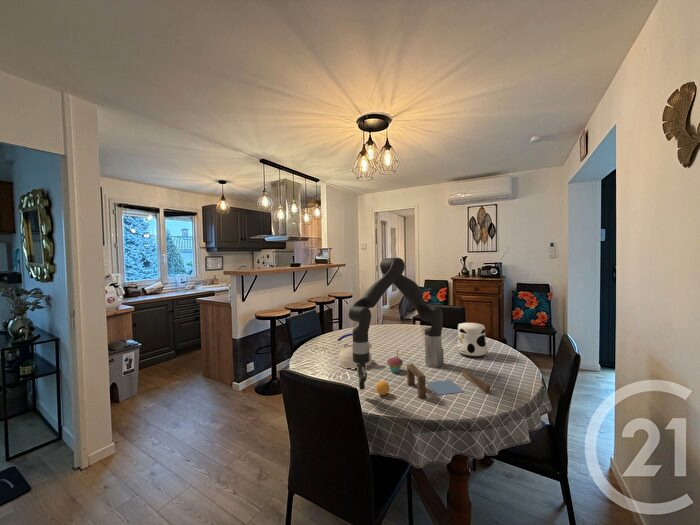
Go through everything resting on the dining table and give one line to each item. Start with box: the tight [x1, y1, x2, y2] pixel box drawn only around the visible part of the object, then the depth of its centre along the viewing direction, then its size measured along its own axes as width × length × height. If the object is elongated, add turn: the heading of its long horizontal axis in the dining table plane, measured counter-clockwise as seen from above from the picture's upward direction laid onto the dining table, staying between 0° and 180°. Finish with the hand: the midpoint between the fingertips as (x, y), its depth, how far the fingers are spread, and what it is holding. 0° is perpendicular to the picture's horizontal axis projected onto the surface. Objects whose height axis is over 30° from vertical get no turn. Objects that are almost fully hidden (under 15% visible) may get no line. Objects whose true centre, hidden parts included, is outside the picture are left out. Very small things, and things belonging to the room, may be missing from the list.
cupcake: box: [386, 349, 404, 373], centre depth 161 cm, size 9×8×12 cm
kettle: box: [337, 332, 373, 368], centre depth 175 cm, size 20×21×18 cm
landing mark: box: [426, 379, 465, 396], centre depth 139 cm, size 13×13×1 cm
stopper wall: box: [461, 369, 491, 394], centre depth 142 cm, size 2×20×3 cm, turn 9°
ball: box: [375, 380, 390, 396], centre depth 134 cm, size 6×6×6 cm
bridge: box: [406, 363, 427, 399], centre depth 137 cm, size 3×15×10 cm, turn 10°
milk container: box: [456, 322, 488, 358], centre depth 183 cm, size 17×17×18 cm
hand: (361, 388), depth 133 cm, fingers closed
